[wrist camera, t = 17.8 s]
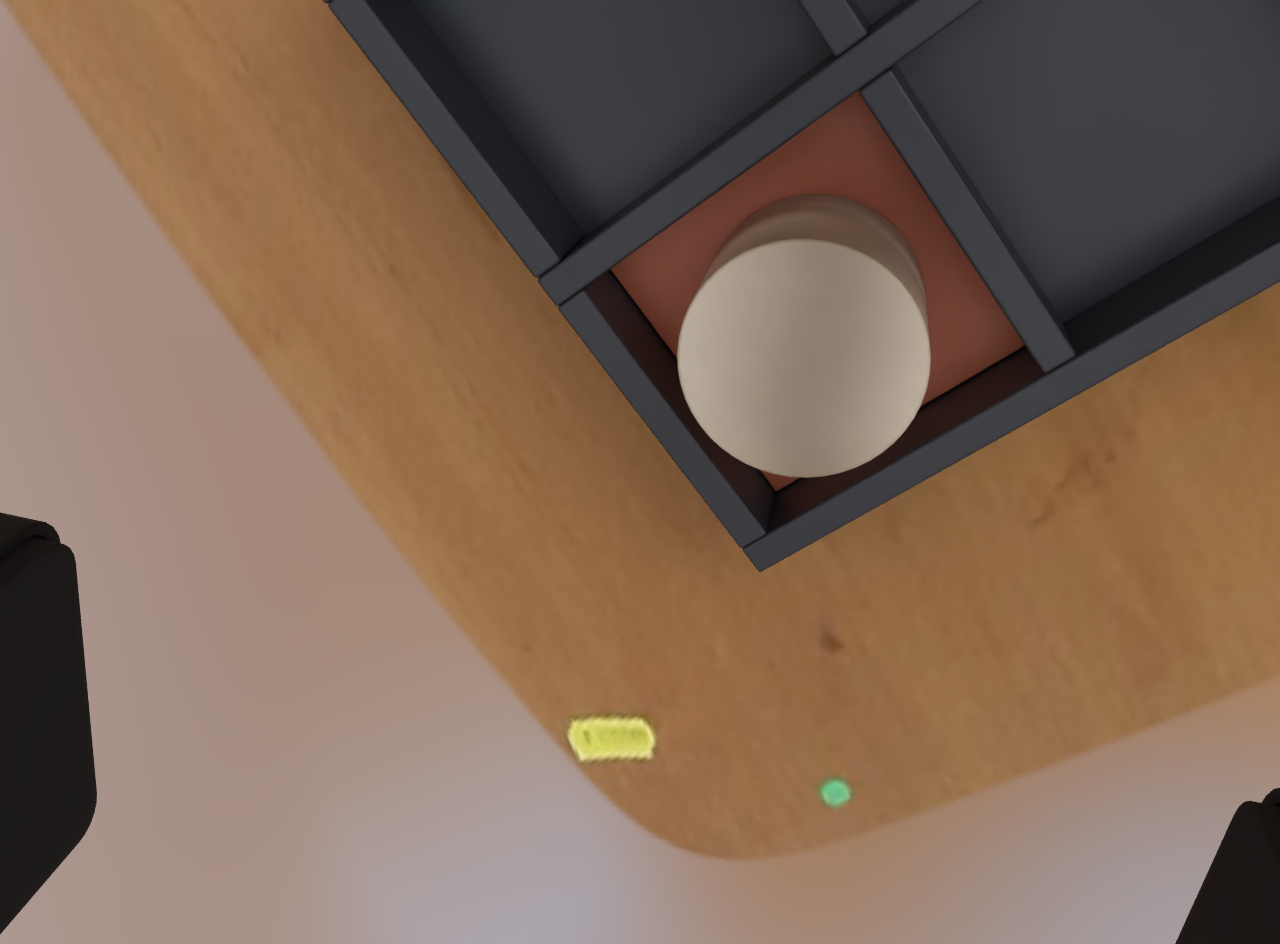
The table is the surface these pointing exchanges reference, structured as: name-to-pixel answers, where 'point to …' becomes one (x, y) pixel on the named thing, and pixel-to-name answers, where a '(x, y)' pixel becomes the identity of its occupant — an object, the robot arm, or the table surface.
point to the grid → (864, 185)
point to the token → (807, 338)
